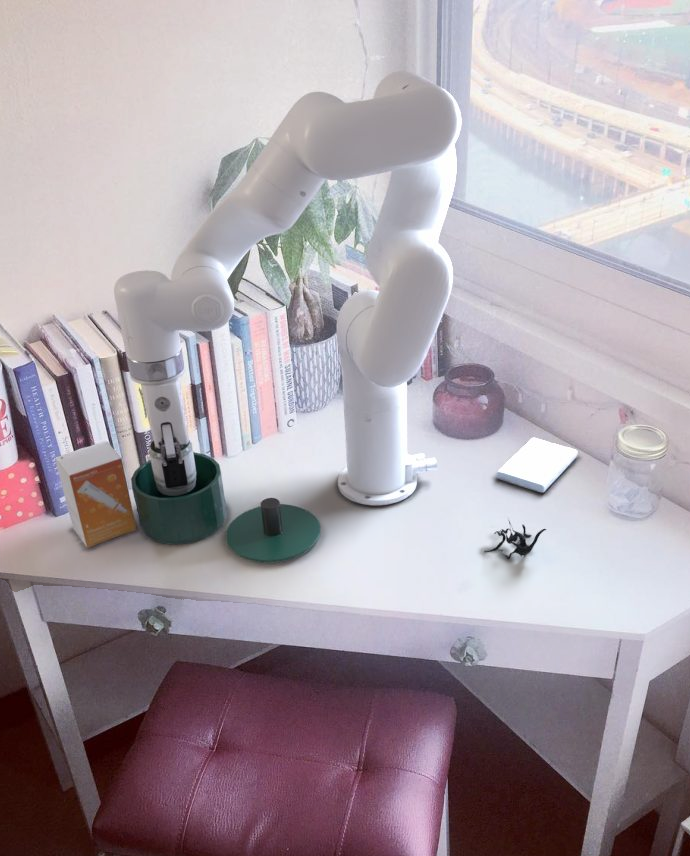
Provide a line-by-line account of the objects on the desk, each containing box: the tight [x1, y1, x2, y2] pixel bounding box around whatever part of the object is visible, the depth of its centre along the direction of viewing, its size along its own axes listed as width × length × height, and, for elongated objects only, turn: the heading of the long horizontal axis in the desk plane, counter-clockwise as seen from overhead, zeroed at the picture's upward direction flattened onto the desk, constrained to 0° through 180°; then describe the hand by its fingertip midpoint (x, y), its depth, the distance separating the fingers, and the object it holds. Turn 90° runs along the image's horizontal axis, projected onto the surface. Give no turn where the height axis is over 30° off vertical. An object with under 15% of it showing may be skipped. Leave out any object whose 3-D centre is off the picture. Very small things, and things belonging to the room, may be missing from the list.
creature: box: [484, 518, 547, 560], centre depth 128 cm, size 8×5×8 cm
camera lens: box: [148, 438, 196, 496], centre depth 134 cm, size 6×6×8 cm
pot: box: [130, 451, 228, 545], centre depth 137 cm, size 13×13×8 cm
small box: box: [54, 440, 137, 549], centre depth 134 cm, size 8×6×13 cm
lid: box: [225, 497, 321, 564], centre depth 133 cm, size 14×14×6 cm
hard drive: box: [496, 437, 578, 494], centre depth 146 cm, size 2×8×12 cm
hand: (174, 472), depth 135 cm, fingers closed on camera lens, 6 cm apart
